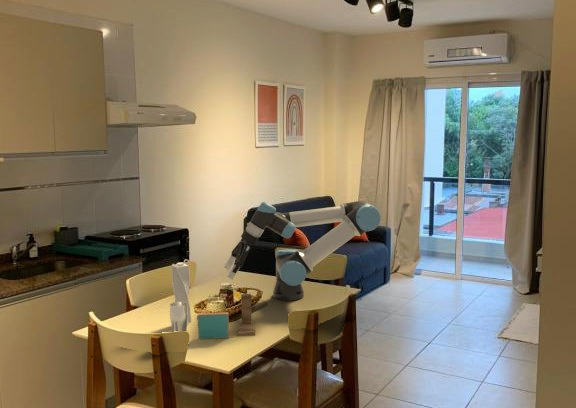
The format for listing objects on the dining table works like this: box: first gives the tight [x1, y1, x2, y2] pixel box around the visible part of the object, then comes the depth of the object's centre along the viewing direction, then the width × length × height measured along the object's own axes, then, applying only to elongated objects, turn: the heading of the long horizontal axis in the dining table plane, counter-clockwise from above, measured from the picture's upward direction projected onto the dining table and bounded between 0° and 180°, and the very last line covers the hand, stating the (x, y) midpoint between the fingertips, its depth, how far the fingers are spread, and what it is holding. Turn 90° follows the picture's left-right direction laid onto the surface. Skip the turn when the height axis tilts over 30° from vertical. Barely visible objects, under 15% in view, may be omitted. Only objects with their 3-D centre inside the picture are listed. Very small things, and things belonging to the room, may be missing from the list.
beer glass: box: [169, 301, 188, 332], centre depth 219 cm, size 7×7×15 cm
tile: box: [197, 311, 230, 340], centre depth 222 cm, size 12×2×10 cm, turn 94°
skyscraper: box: [171, 258, 192, 326], centre depth 237 cm, size 8×8×28 cm
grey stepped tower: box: [237, 293, 256, 337], centre depth 232 cm, size 16×7×12 cm, turn 4°
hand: (227, 273), depth 255 cm, fingers open, 13 cm apart
